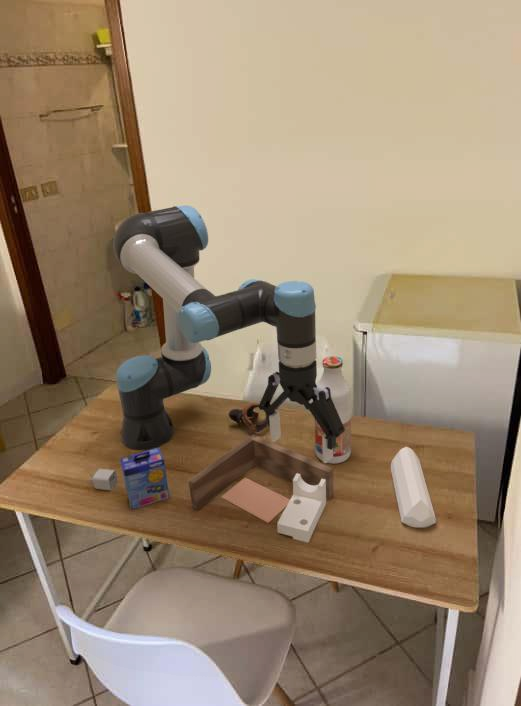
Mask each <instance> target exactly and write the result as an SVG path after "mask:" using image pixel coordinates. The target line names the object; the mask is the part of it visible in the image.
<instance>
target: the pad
mask: <svg viewBox="0 0 521 706" xmlns="http://www.w3.org/2000/svg"><path fill="white" fill-rule="evenodd" d="M220 498H221V499H223V500H224V501H226V502H228V503H230V504H232V505H234V506H236V507H237V508H239V509H241V510H243V511H245V512H246V513H248V514H250V515H252V516H254V517H256V518H258V519H260V520H261V521H263V522H265V523H267V524H270V523H271V522H272V521H273V520H274V519H275V518H276V517H277V516H278V515H279V514H280V513H283V512H284V510H285V508H286V506H287V505H288V503H289V501H290V499H291V498H287V497H285V496H283V495H282V494H280V493H277V492H275V491H273V490H271V489H270V488H268V487H265V486H263V485H261V484H259V483H257V482H255V481H253V480H251V479H249V478H247V477H244V478H243V479H241V480H240V481H239V482H238V483H236V484H235V485H234V486H232V487H231V488H230V489H229V490H227V491H226V492H225V493H223V494H222V495H221V496H220Z"/></svg>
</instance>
